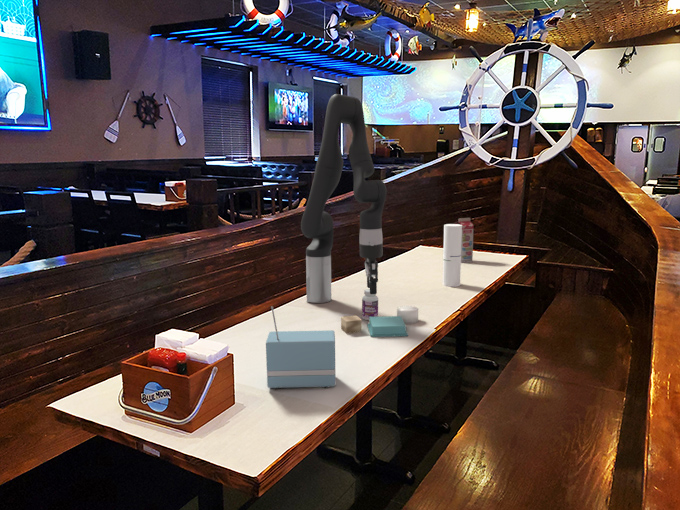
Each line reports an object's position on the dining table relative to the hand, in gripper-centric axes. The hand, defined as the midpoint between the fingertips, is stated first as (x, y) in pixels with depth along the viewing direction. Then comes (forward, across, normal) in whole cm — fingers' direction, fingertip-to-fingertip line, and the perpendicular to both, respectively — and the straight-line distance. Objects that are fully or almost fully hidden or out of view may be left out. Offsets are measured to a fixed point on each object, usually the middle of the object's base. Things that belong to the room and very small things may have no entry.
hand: (371, 290), depth 177 cm
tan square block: (+10, +12, -8) cm, 17 cm away
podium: (+10, +13, +3) cm, 16 cm away
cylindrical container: (+10, -44, +38) cm, 59 cm away
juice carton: (+10, -92, +56) cm, 109 cm away
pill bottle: (+10, 0, -1) cm, 10 cm away
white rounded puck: (+10, +3, +11) cm, 15 cm away
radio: (+10, +50, -22) cm, 55 cm away
